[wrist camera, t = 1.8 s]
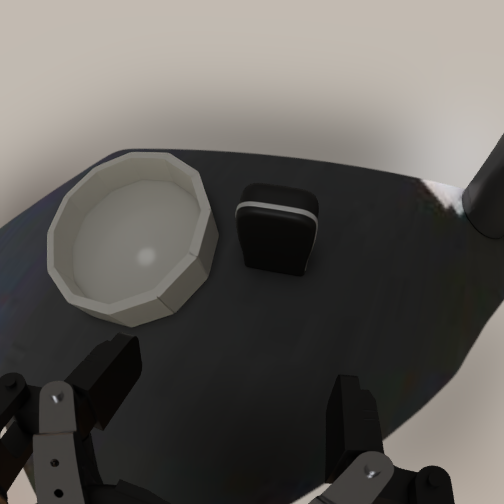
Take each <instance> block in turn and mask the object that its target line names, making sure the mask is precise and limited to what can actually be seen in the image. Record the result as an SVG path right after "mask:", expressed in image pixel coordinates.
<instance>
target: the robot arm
mask: <svg viewBox="0 0 504 504" xmlns="http://www.w3.org/2000/svg"><path fill="white" fill-rule="evenodd" d="M462 201H463V207H464V210H465V212H466V215H467V217H468V218H469V220H470V221H471V223H472V224H473V225H474V227H475V228H476V229H477V230H479V231H480V232H481V233H482V234H484V235H485V236H488V237H490V238H500V237H502V236H503V235H504V134H503V135H502V137H501V138H500V140H499V141H498V143H497V145H496V146H495V148H494V149H493V151H492V152H491V154H490V155H489V157H488V158H487V160H486V161H485V163H484V164H483V166H482V167H481V168H480V170H479V171H478V173H477V174H476V176H475V177H474V178H473V180H472V181H471V182H470V184H469V185H468V187H467V188H466V189H465V191H464V193H463V198H462ZM141 371H142V361H141V354H140V347H139V340H138V338H137V337H136V336H133V335H129V334H126V333H122V332H119V333H118V334H117V335H116V336H115V337H114V338H113V339H112V340H111V341H108V340H107V341H105V342H103V343H101V344H99V345H97V346H96V347H95V348H94V349H93V350H92V351H91V353H90V355H88V356H87V357H86V358H85V360H84V361H82V362H81V363H80V364H79V365H78V366H77V368H76V369H75V370H74V371H73V372H72V373H71V374H70V375H69V376H68V377H67V378H66V379H65V381H64V382H62V381H53V382H50V383H48V384H46V385H45V386H44V387H43V388H41V387H36V386H31V385H27V384H26V381H25V379H24V377H23V376H22V375H20V374H18V373H8V374H5V375H3V376H2V377H1V378H0V433H1V431H2V429H3V428H4V427H5V426H6V424H7V423H8V422H9V421H10V419H11V418H12V417H13V419H14V420H15V421H14V422H13V424H12V425H11V426H10V427H9V429H8V430H7V431H6V433H5V434H4V435H3V436H2V438H1V439H0V504H8V502H7V501H8V500H7V499H8V497H7V491H8V490H9V488H10V486H11V485H12V483H13V482H14V480H15V478H16V477H17V475H18V474H19V472H20V471H21V469H22V468H23V466H24V465H25V463H26V462H27V460H28V459H29V457H30V456H31V454H32V453H33V458H34V474H35V486H36V495H37V504H170V503H168V502H167V501H165V500H163V499H162V498H160V497H158V496H157V495H155V494H153V493H152V492H150V491H148V490H146V489H144V488H141V487H138V486H136V485H133V484H130V483H128V482H125V481H123V480H121V479H120V480H119V482H118V484H117V485H108V484H105V485H104V484H103V481H102V479H101V477H100V474H99V471H98V467H97V462H96V458H95V453H94V447H93V442H92V436H91V433H90V431H91V430H92V429H93V427H95V428H97V429H100V430H102V431H103V430H104V429H105V427H106V426H107V424H108V423H109V422H110V420H111V419H112V417H113V416H114V414H115V413H116V411H117V410H118V408H119V407H120V405H121V404H122V402H123V401H124V399H125V398H126V396H127V395H128V393H129V392H130V390H131V389H132V388H133V386H134V385H135V383H136V382H137V380H138V379H139V377H140V375H141ZM378 419H379V418H378V412H377V406H376V401H375V399H374V397H373V396H372V394H371V393H370V391H369V390H360V385H359V379H358V377H357V376H350V375H338V376H337V379H336V381H335V384H334V387H333V390H332V393H331V396H330V398H329V401H328V405H327V410H326V469H325V483H329V484H332V485H330V486H329V488H327V489H326V491H324V492H323V493H322V494H321V495H320V496H317V497H316V498H314V499H313V500H312V501H311V502H310V503H308V504H455V503H454V496H453V491H452V484H451V479H450V476H449V474H448V473H447V472H446V471H445V470H444V469H443V468H441V467H438V466H427V467H424V468H423V469H421V470H420V471H419V472H414V471H409V470H405V469H401V468H398V467H396V466H394V465H393V463H392V461H391V460H390V458H389V457H387V456H386V455H385V454H384V450H383V443H382V436H381V430H380V424H379V421H378Z"/></svg>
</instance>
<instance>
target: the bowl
mask: <svg viewBox="0 0 504 504" xmlns="http://www.w3.org/2000/svg"><path fill="white" fill-rule="evenodd" d="M218 237H219V233H218V230H217V227H216V223H215V220H214V217H213V214H212V210H211V207H210V204H209V201H208V198H207V196H206V193H205V190H204V187H203V184H202V181H201V178H200V175H199V173H198V171H196V170H195V169H193V168H191V167H190V166H188V165H187V164H185V163H184V162H182V161H181V160H179V159H178V158H176V157H174V156H173V155H171V154H170V153H169V154H168V153H156V152H132V153H131V152H130V153H128V154H125V155H123V156H120V157H118V158H115V159H113V160H111V161H108V162H106V163H104V164H101V165H99V166H97V167H95V168H93V169H92V170H91V171H90V172H89V173H88V174H87V175H86V176H85V177H84V178H83V179H82V180H80V181H79V182H78V183H77V184H76V185H75V186H74V187H73V188H72V189H71V190H70V191H69V192H68V193H67V194H66V195H65V196H64V198H63V200H62V202H61V204H60V206H59V209H58V211H57V213H56V215H55V217H54V219H53V221H52V224H51V226H50V228H49V230H48V233H47V267H48V273H49V274H50V276H51V277H52V279H53V281H54V282H55V284H56V285H57V287H58V288H59V290H60V291H61V293H62V294H63V296H64V297H65V299H66V300H67V302H68V303H70V304H72V305H73V306H75V307H77V308H79V309H81V310H83V311H84V312H86V313H88V314H90V315H92V316H94V317H97V318H100V319H103V320H107V321H110V322H114V323H117V324H121V325H124V326H128V327H135V326H138V325H141V324H144V323H147V322H150V321H153V320H156V319H159V318H163V317H166V316H169V315H172V314H174V312H175V313H176V312H177V311H178V310H179V309H180V307H181V306H182V305H183V304H184V303H185V302H186V301H187V300H188V299H189V298H190V297H191V296H192V295H193V294H194V292H195V291H196V290H197V289H198V288H199V287H200V286H201V285H202V284H203V283H204V282H205V281H206V280H207V279H208V278H207V277H209V273H210V269H211V265H212V261H213V257H214V253H215V249H216V245H217V241H218Z"/></svg>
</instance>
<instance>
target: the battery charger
mask: <svg viewBox="0 0 504 504" xmlns="http://www.w3.org/2000/svg"><path fill="white" fill-rule="evenodd" d="M318 212H319V206H318V200H317V198H316V196H315V195H314V194H312V193H311V192H309V191H307V190H303V189H297V188H291V187H285V186H279V185H271V184H263V183H253V184H250V185H248V186H247V187H246V188H245V189H244V191H243V193H242V196H241V199H240V202H239V205H238V206H237V209H236V215H235V216H236V220H235V221H236V228H237V233H238V238H239V241H240V245H241V248H242V251H243V255H244V261H245V265H246V266H248V267H254V268H259V269H264V270H270V271H275V272H281V273H287V274H293V275H299V276H302V275H304V272H305V270H306V265H307V261H308V258H309V256H310V254H311V251H312V248H313V246H314V242H315V238H316V234H317V228H318Z"/></svg>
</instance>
